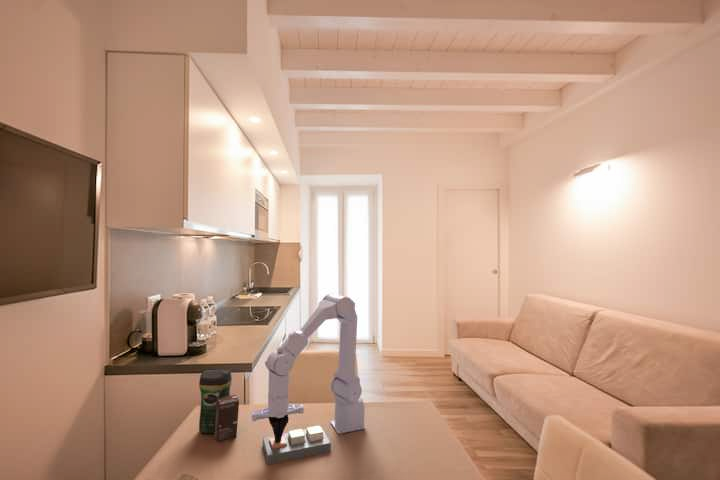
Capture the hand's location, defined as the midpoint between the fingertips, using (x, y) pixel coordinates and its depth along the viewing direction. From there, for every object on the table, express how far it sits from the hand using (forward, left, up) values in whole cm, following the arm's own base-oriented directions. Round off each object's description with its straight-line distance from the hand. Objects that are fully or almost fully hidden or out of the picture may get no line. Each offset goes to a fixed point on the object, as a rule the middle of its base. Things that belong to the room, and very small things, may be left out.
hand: (277, 441), depth 107 cm
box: (+13, -14, -3) cm, 20 cm away
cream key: (-11, 0, -2) cm, 11 cm away
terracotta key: (0, 0, -3) cm, 3 cm away
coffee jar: (+16, -20, -3) cm, 26 cm away
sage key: (-5, 0, -2) cm, 6 cm away
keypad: (-6, 0, -3) cm, 6 cm away
